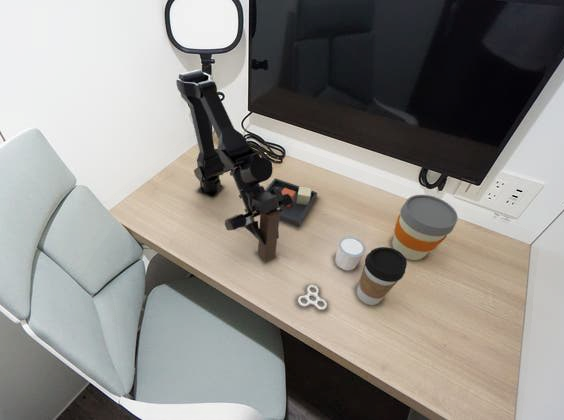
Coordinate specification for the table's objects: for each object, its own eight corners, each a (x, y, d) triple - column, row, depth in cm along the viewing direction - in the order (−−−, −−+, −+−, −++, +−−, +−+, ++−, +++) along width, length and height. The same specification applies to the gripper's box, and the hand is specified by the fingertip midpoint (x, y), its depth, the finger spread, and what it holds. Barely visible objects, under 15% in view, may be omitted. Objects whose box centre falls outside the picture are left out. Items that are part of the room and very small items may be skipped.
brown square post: (257, 253, 90) (260, 209, 77) (267, 248, 91) (272, 203, 78) (264, 262, 88) (268, 217, 75) (275, 256, 89) (280, 212, 76)
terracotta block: (278, 203, 103) (279, 194, 101) (283, 196, 106) (284, 187, 103) (289, 207, 102) (290, 198, 99) (294, 200, 104) (295, 191, 101)
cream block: (296, 203, 103) (297, 194, 100) (297, 195, 106) (299, 186, 103) (308, 205, 102) (310, 196, 100) (309, 197, 105) (311, 188, 102)
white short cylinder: (341, 248, 90) (347, 232, 86) (363, 261, 87) (370, 245, 82) (328, 262, 87) (333, 246, 82) (350, 276, 84) (357, 261, 79)
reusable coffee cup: (436, 241, 91) (461, 204, 81) (428, 272, 84) (455, 236, 73) (391, 225, 96) (409, 188, 86) (380, 253, 89) (399, 216, 78)
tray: (253, 210, 102) (253, 204, 100) (274, 183, 112) (274, 178, 110) (298, 228, 96) (299, 222, 94) (316, 198, 106) (317, 192, 104)
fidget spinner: (297, 305, 78) (297, 304, 77) (299, 283, 82) (299, 282, 82) (326, 311, 77) (327, 309, 76) (326, 288, 81) (327, 286, 80)
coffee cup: (391, 309, 77) (415, 275, 66) (356, 309, 77) (374, 275, 66) (380, 280, 83) (400, 244, 72) (347, 280, 83) (363, 244, 72)
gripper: (228, 196, 71) (254, 258, 72) (293, 169, 78) (316, 226, 79) (214, 201, 82) (236, 255, 83) (272, 177, 88) (292, 228, 89)
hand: (271, 241), depth 83 cm, fingers open, 4 cm apart
